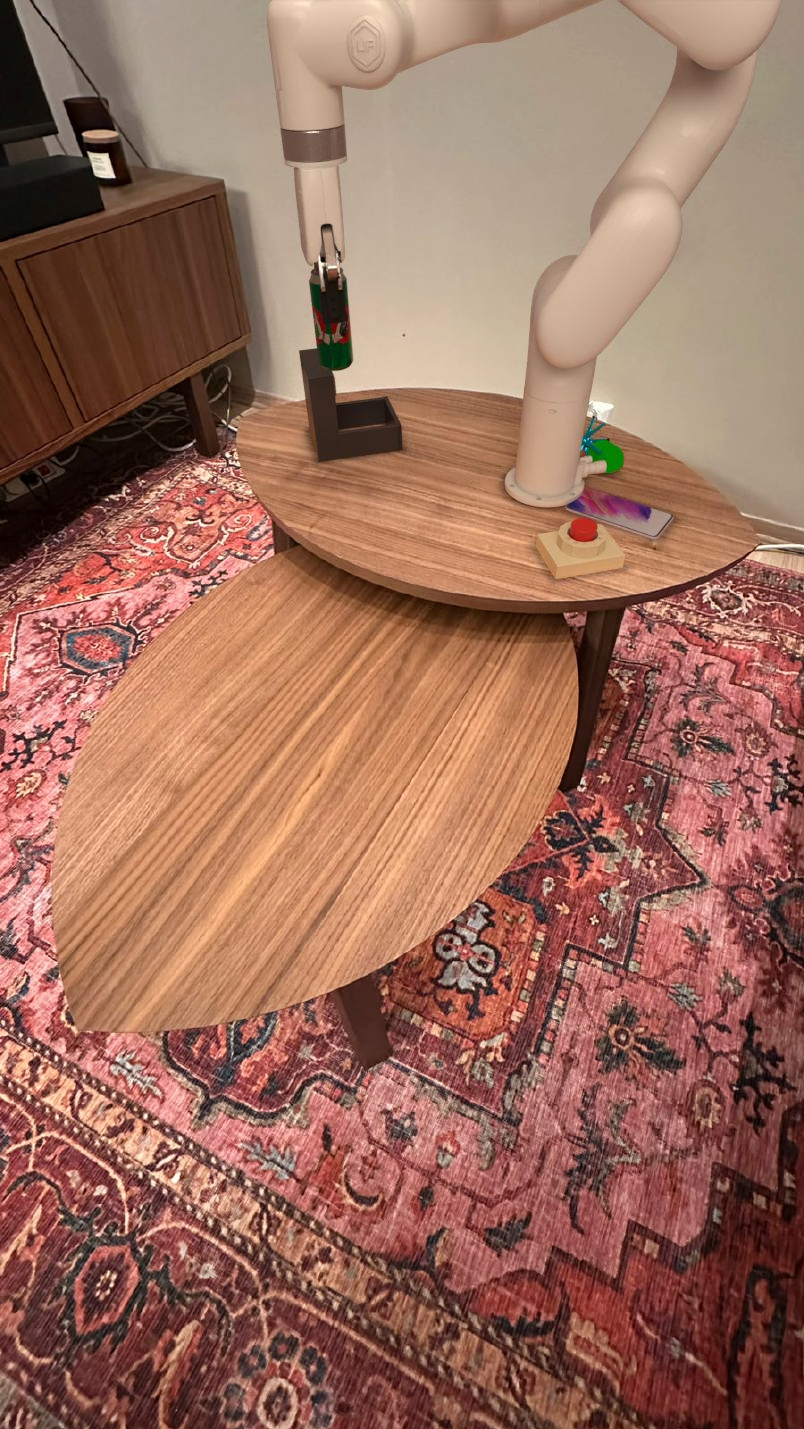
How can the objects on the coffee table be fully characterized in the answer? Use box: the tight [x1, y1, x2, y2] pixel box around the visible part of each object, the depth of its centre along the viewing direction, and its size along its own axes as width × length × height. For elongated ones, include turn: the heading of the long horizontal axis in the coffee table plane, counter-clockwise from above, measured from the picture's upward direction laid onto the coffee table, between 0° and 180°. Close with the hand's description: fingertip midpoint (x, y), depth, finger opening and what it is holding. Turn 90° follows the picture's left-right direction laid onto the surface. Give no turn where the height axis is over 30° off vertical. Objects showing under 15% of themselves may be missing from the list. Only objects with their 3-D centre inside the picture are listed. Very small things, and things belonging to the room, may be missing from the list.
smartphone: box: [565, 486, 675, 540], centre depth 105 cm, size 7×1×15 cm
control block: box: [534, 520, 627, 580], centre depth 96 cm, size 10×8×4 cm
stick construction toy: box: [580, 414, 625, 474], centre depth 114 cm, size 12×7×8 cm
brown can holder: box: [298, 347, 403, 463], centre depth 117 cm, size 15×12×14 cm
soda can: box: [308, 266, 354, 372], centre depth 95 cm, size 5×5×12 cm
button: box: [569, 517, 598, 542], centre depth 94 cm, size 4×4×2 cm
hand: (331, 313), depth 94 cm, fingers closed on soda can, 5 cm apart
